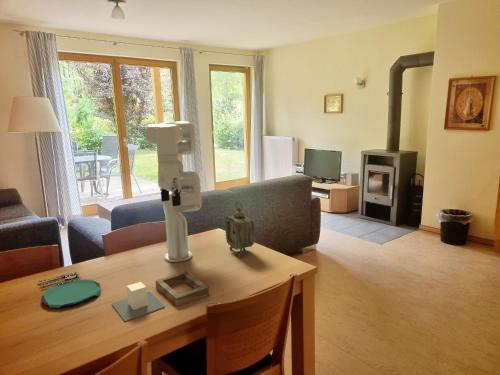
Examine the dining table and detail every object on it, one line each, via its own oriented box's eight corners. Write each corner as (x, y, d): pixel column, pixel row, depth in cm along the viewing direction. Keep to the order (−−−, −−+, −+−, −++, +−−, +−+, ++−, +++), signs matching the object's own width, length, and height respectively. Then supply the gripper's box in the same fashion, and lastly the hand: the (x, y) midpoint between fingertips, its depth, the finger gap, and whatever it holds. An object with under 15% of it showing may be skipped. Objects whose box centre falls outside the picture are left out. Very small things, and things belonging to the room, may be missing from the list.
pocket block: (156, 287, 139) (155, 280, 139) (186, 277, 147) (185, 271, 146) (176, 306, 125) (176, 298, 124) (208, 294, 133) (208, 287, 132)
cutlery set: (48, 317, 121) (47, 311, 120) (32, 285, 144) (31, 280, 143) (108, 297, 133) (107, 291, 133) (85, 271, 156) (84, 266, 155)
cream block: (128, 304, 126) (126, 285, 125) (142, 299, 129) (140, 281, 128) (133, 310, 122) (131, 291, 121) (147, 305, 125) (146, 286, 124)
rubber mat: (111, 304, 127) (111, 303, 127) (149, 292, 135) (149, 291, 135) (124, 321, 116) (124, 320, 116) (165, 307, 125) (165, 306, 124)
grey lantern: (226, 249, 177) (224, 200, 172) (242, 245, 181) (241, 197, 176) (238, 259, 165) (237, 206, 160) (256, 255, 169) (255, 204, 164)
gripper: (149, 157, 139) (152, 200, 142) (168, 162, 125) (171, 209, 129) (167, 156, 143) (170, 197, 147) (188, 160, 130) (190, 205, 133)
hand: (170, 203), depth 138 cm, fingers open, 9 cm apart
